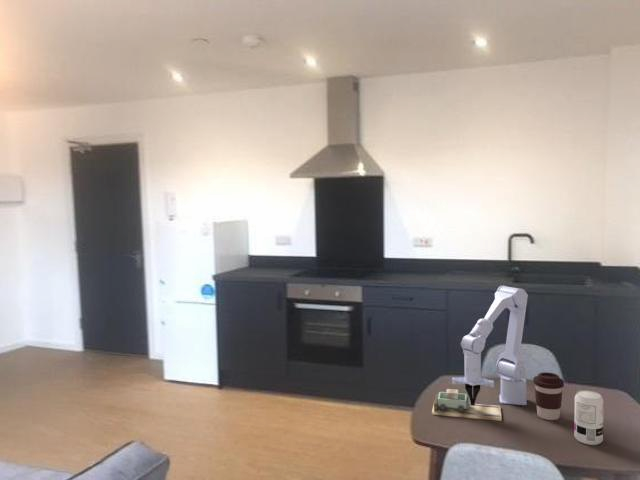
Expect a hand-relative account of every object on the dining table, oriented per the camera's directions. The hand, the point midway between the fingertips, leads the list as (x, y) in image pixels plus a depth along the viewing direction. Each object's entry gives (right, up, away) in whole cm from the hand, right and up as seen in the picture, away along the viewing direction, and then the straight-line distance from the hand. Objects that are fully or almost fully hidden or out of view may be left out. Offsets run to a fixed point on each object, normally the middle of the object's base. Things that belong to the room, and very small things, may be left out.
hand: (472, 404), depth 191 cm
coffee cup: (+25, -3, -5) cm, 26 cm away
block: (-7, 0, +2) cm, 7 cm away
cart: (-6, -1, +2) cm, 7 cm away
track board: (-2, -3, +1) cm, 4 cm away
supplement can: (+30, -4, -24) cm, 38 cm away
